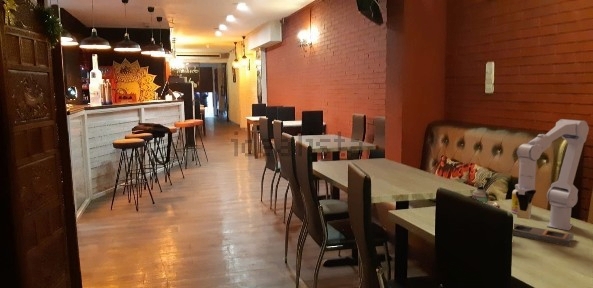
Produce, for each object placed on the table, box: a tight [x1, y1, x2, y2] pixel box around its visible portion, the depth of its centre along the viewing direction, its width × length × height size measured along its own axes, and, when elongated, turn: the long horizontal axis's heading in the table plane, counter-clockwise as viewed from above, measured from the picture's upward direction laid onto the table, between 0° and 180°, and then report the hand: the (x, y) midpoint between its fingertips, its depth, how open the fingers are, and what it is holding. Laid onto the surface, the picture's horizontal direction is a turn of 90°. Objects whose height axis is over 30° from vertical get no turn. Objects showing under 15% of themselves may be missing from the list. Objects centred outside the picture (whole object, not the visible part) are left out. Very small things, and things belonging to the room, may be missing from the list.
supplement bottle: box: [510, 186, 519, 215], centre depth 205 cm, size 7×7×13 cm
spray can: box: [471, 184, 489, 203], centre depth 172 cm, size 6×6×20 cm
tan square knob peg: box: [516, 201, 533, 220], centre depth 176 cm, size 4×4×6 cm
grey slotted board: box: [512, 223, 575, 247], centre depth 174 cm, size 9×22×2 cm, turn 51°
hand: (524, 209), depth 176 cm, fingers closed on tan square knob peg, 4 cm apart
